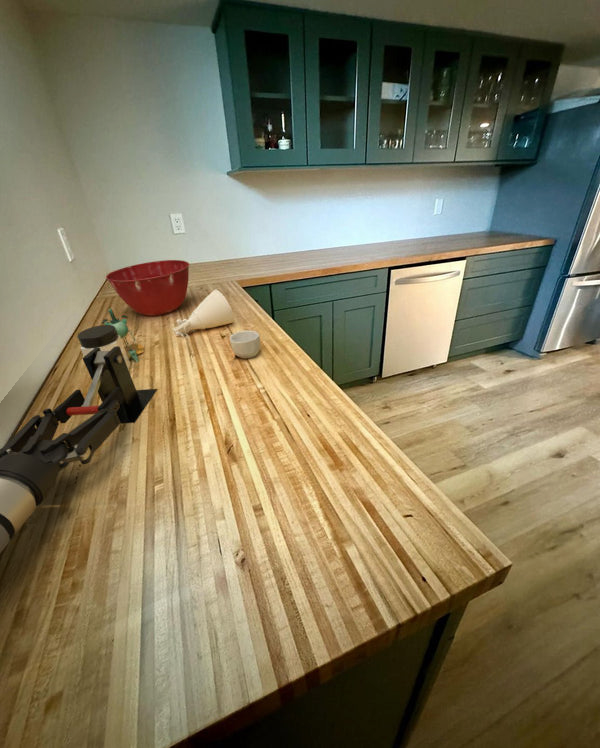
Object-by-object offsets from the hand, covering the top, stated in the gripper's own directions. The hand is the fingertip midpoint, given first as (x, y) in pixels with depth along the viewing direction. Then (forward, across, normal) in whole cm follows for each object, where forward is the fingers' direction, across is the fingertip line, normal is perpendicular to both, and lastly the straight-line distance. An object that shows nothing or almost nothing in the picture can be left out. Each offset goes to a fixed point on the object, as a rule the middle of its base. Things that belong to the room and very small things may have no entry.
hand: (100, 394), depth 63 cm
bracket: (+5, 0, -7) cm, 9 cm away
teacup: (+28, +22, -8) cm, 37 cm away
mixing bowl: (+71, -17, -8) cm, 73 cm away
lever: (+1, 0, +1) cm, 2 cm away
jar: (+21, -10, -8) cm, 25 cm away
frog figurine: (+31, -12, -8) cm, 34 cm away
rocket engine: (+49, +6, -8) cm, 50 cm away
